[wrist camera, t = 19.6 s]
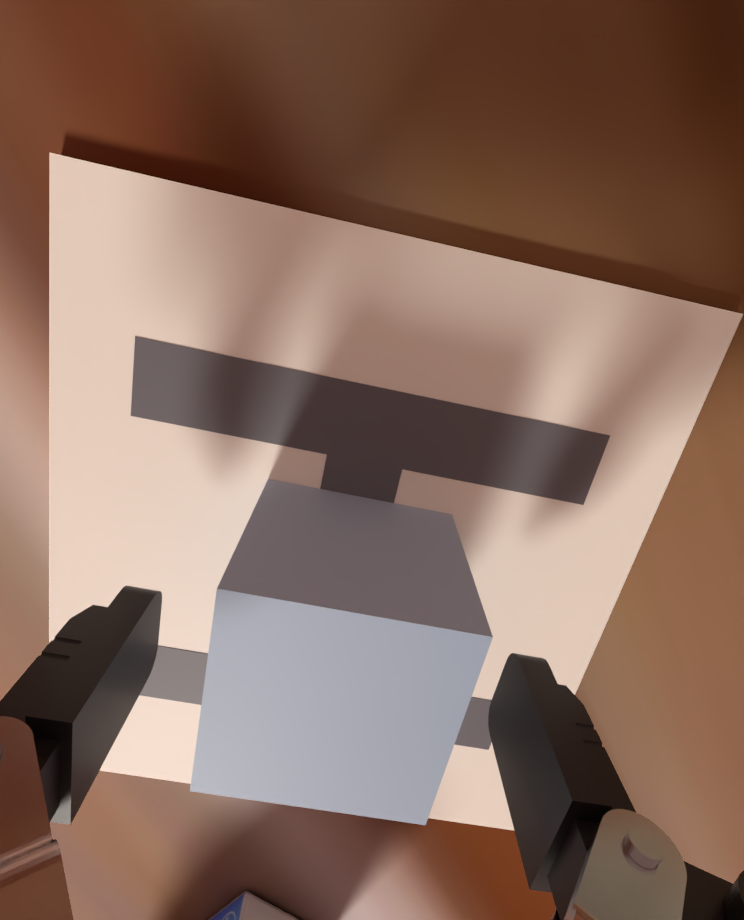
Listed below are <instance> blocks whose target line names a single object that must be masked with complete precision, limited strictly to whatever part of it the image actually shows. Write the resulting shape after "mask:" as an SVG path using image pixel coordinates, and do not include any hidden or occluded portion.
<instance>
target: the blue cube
mask: <svg viewBox="0 0 744 920" xmlns="http://www.w3.org/2000/svg"><path fill="white" fill-rule="evenodd" d="M492 638H493V636H492V633H491V630H490V627H489V624H488V621H487V618H486V615H485V612H484V609H483V606H482V603H481V600H480V597H479V594H478V591H477V588H476V585H475V582H474V579H473V576H472V573H471V570H470V567H469V564H468V561H467V558H466V555H465V552H464V549H463V546H462V543H461V540H460V537H459V534H458V531H457V528H456V525H455V522H454V519H453V516H452V514H447V513H442V512H437V511H432V510H427V509H422V508H416V507H411V506H406V505H401V504H396V503H391V502H385V501H380V500H375V499H370V498H365V497H360V496H354V495H349V494H344V493H339V492H334V491H329V490H323V489H318V488H313V487H308V486H303V485H298V484H293V483H287V482H282V481H277V480H272V479H268V480H267V482H266V484H265V487H264V489H263V491H262V493H261V495H260V497H259V499H258V502H257V504H256V506H255V508H254V510H253V512H252V514H251V517H250V519H249V521H248V523H247V525H246V527H245V529H244V532H243V534H242V536H241V538H240V540H239V542H238V544H237V546H236V549H235V551H234V553H233V555H232V557H231V559H230V561H229V564H228V566H227V568H226V570H225V572H224V574H223V576H222V579H221V581H220V583H219V585H218V587H217V591H216V599H215V606H214V614H213V621H212V629H211V636H210V644H209V651H208V659H207V666H206V674H205V681H204V689H203V696H202V704H201V712H200V719H199V727H198V734H197V742H196V749H195V757H194V764H193V772H192V779H191V787H190V791H193V792H200V793H206V794H213V795H220V796H227V797H234V798H241V799H248V800H255V801H262V802H268V803H275V804H282V805H289V806H296V807H303V808H310V809H317V810H324V811H330V812H337V813H344V814H351V815H358V816H365V817H372V818H379V819H386V820H393V821H399V822H406V823H413V824H420V825H426V822H427V819H428V816H429V814H430V811H431V808H432V805H433V803H434V800H435V797H436V794H437V791H438V789H439V786H440V783H441V780H442V777H443V775H444V772H445V769H446V766H447V764H448V761H449V758H450V755H451V752H452V750H453V747H454V744H455V741H456V738H457V736H458V733H459V730H460V727H461V725H462V722H463V719H464V716H465V713H466V711H467V708H468V705H469V702H470V699H471V697H472V694H473V691H474V688H475V686H476V683H477V680H478V677H479V674H480V672H481V669H482V666H483V663H484V660H485V658H486V655H487V652H488V649H489V647H490V644H491V641H492Z"/></svg>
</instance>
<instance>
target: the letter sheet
mask: <svg viewBox="0 0 744 920" xmlns="http://www.w3.org/2000/svg"><path fill="white" fill-rule="evenodd" d="M742 316H743V314H741V313H737V312H732V311H728V310H724V309H720V308H715V307H711V306H707V305H702V304H698V303H694V302H690V301H685V300H681V299H677V298H672V297H668V296H664V295H659V294H655V293H651V292H647V291H642V290H638V289H634V288H629V287H625V286H621V285H617V284H612V283H608V282H604V281H599V280H595V279H591V278H586V277H582V276H578V275H574V274H569V273H565V272H561V271H556V270H552V269H548V268H543V267H539V266H535V265H531V264H526V263H522V262H518V261H513V260H509V259H505V258H501V257H496V256H492V255H488V254H483V253H479V252H475V251H470V250H466V249H462V248H458V247H453V246H449V245H445V244H440V243H436V242H432V241H428V240H423V239H419V238H415V237H410V236H406V235H402V234H397V233H393V232H389V231H385V230H380V229H376V228H372V227H367V226H363V225H359V224H355V223H350V222H346V221H342V220H337V219H333V218H329V217H324V216H320V215H316V214H312V213H307V212H303V211H299V210H294V209H290V208H286V207H281V206H277V205H273V204H269V203H264V202H260V201H256V200H251V199H247V198H243V197H239V196H234V195H230V194H226V193H221V192H217V191H213V190H208V189H204V188H200V187H196V186H191V185H187V184H183V183H178V182H174V181H170V180H166V179H161V178H157V177H153V176H148V175H144V174H140V173H135V172H131V171H127V170H123V169H118V168H114V167H110V166H105V165H101V164H97V163H92V162H88V161H84V160H80V159H75V158H71V157H67V156H62V155H58V154H54V153H50V210H49V643H50V642H51V641H52V640H54V638H55V636H56V635H57V633H58V632H59V631H60V630H61V629H62V627H63V626H64V625H65V624H66V623H67V622H68V620H69V619H70V618H72V617H73V616H75V615H77V614H78V613H80V612H82V611H83V610H85V609H87V608H88V607H90V606H92V605H98V606H103V607H108V606H109V605H110V604H111V602H112V601H113V600H114V598H115V597H116V596H117V594H118V593H119V592H120V591H121V589H122V588H123V587H124V586H133V587H139V588H144V589H150V590H156V591H161V593H162V606H161V617H160V629H159V640H158V649H157V654H156V659H155V662H154V665H153V668H152V671H151V673H150V676H149V678H148V680H147V682H146V683H145V685H144V687H143V689H142V691H141V693H140V695H139V697H138V699H137V700H136V702H135V704H134V706H133V708H132V710H131V712H130V714H129V715H128V717H127V719H126V721H125V723H124V725H123V727H122V729H121V731H120V732H119V734H118V736H117V738H116V740H115V742H114V744H113V746H112V747H111V749H110V751H109V753H108V755H107V757H106V759H105V761H104V762H103V764H102V766H101V768H100V770H99V771H106V772H113V773H120V774H127V775H134V776H141V777H148V778H155V779H162V780H169V781H176V782H182V783H189V784H191V779H192V772H193V764H194V757H195V749H196V742H197V734H198V727H199V719H200V712H201V704H202V696H203V689H204V681H205V674H206V666H207V659H208V651H209V644H210V636H211V629H212V621H213V614H214V606H215V599H216V591H217V587H218V585H219V583H220V581H221V579H222V576H223V574H224V572H225V570H226V568H227V566H228V564H229V561H230V559H231V557H232V555H233V553H234V551H235V549H236V546H237V544H238V542H239V540H240V538H241V536H242V534H243V532H244V529H245V527H246V525H247V523H248V521H249V519H250V517H251V514H252V512H253V510H254V508H255V506H256V504H257V502H258V499H259V497H260V495H261V493H262V491H263V489H264V487H265V484H266V482H267V480H268V479H272V480H277V481H282V482H287V483H293V484H298V485H303V486H308V487H313V488H318V489H323V490H329V491H334V492H339V493H344V494H349V495H354V496H360V497H365V498H370V499H375V500H380V501H385V502H391V503H396V504H401V505H406V506H411V507H416V508H422V509H427V510H432V511H437V512H442V513H447V514H452V516H453V519H454V522H455V525H456V528H457V531H458V534H459V537H460V540H461V543H462V546H463V549H464V552H465V555H466V558H467V561H468V564H469V567H470V570H471V573H472V576H473V579H474V582H475V585H476V588H477V591H478V594H479V597H480V600H481V603H482V606H483V609H484V612H485V615H486V618H487V621H488V624H489V627H490V630H491V633H492V636H493V638H492V641H491V644H490V647H489V649H488V652H487V655H486V658H485V660H484V663H483V666H482V669H481V672H480V674H479V677H478V680H477V683H476V686H475V688H474V691H473V694H472V697H471V699H470V702H469V705H468V708H467V711H466V713H465V716H464V719H463V722H462V725H461V727H460V730H459V733H458V736H457V738H456V741H455V744H454V747H453V750H452V752H451V755H450V758H449V761H448V764H447V766H446V769H445V772H444V775H443V777H442V780H441V783H440V786H439V789H438V791H437V794H436V797H435V800H434V803H433V805H432V808H431V811H430V814H429V816H428V818H432V819H438V820H445V821H452V822H459V823H466V824H473V825H480V826H487V827H494V828H501V829H508V830H514V827H513V823H512V819H511V815H510V811H509V807H508V803H507V800H506V796H505V792H504V788H503V784H502V780H501V776H500V772H499V768H498V765H497V761H496V757H495V753H494V749H493V745H492V741H491V737H490V733H489V727H488V715H489V707H490V703H491V700H492V698H493V695H494V692H495V690H496V687H497V684H498V682H499V679H500V676H501V674H502V671H503V668H504V666H505V663H506V660H507V658H508V656H509V655H510V654H512V653H516V654H522V655H528V656H533V657H539V658H544V659H546V661H547V662H548V664H549V666H550V668H551V670H552V672H553V675H554V677H555V679H556V681H557V684H560V685H566V686H567V687H568V688H569V689H570V690H571V692H572V693H573V694H574V695H575V693H576V691H577V689H578V686H579V684H580V682H581V680H582V677H583V675H584V673H585V671H586V668H587V666H588V664H589V662H590V659H591V657H592V655H593V653H594V650H595V648H596V646H597V643H598V641H599V639H600V637H601V634H602V632H603V630H604V628H605V625H606V623H607V621H608V619H609V616H610V614H611V612H612V610H613V607H614V605H615V603H616V601H617V598H618V596H619V594H620V591H621V589H622V587H623V585H624V582H625V580H626V578H627V576H628V573H629V571H630V569H631V567H632V564H633V562H634V560H635V558H636V555H637V553H638V551H639V548H640V546H641V544H642V542H643V539H644V537H645V535H646V533H647V530H648V528H649V526H650V524H651V521H652V519H653V517H654V515H655V512H656V510H657V508H658V506H659V503H660V501H661V499H662V496H663V494H664V492H665V490H666V487H667V485H668V483H669V481H670V478H671V476H672V474H673V472H674V469H675V467H676V465H677V463H678V460H679V458H680V456H681V453H682V451H683V449H684V447H685V444H686V442H687V440H688V438H689V435H690V433H691V431H692V429H693V426H694V424H695V422H696V420H697V417H698V415H699V413H700V411H701V408H702V406H703V404H704V401H705V399H706V397H707V395H708V392H709V390H710V388H711V386H712V383H713V381H714V379H715V377H716V374H717V372H718V370H719V368H720V365H721V363H722V361H723V358H724V356H725V354H726V352H727V349H728V347H729V345H730V343H731V340H732V338H733V336H734V334H735V331H736V329H737V327H738V325H739V322H740V320H741V318H742Z"/></svg>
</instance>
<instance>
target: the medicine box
mask: <svg viewBox="0 0 744 920" xmlns="http://www.w3.org/2000/svg"><path fill="white" fill-rule="evenodd" d="M208 920H299V919H297V918H296V917H294V916H292V915H290V914H288V913H286V912H284V911H282V910H281V909H279V908H277V907H275V906H273V905H271V904H269V903H267V902H265V901H263V900H262V899H260V898H258V897H256V896H255V895H253V894H252V893H251V892H249V891H245V892H243V893H242V894H241V895H239V896H238V897H237V898H235V899H234V900H233V901H232V902H230V903H229V904H228V905H227V906H225V907H224V908H223V909H221V910H220V911H219V912H218V913H216V914H215V915H214V916H212V917H211V918H210V919H208Z"/></svg>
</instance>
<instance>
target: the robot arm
mask: <svg viewBox="0 0 744 920" xmlns="http://www.w3.org/2000/svg"><path fill="white" fill-rule="evenodd" d="M161 606H162V593H161V591H156V590H150V589H144V588H139V587H133V586H124V587H123V588H122V589H121V591H120V592H119V593H118V594H117V596H116V597H115V598H114V600H113V601H112V602H111V604H110V605H109V606H108V607H103V606H98V605H92V606H90V607H88V608H87V609H85V610H83V611H82V612H80V613H78V614H77V615H75V616H73V617H72V618H70V619H69V620H68V622H67V623H66V624H65V625H64V626H63V627H62V629H61V630H60V631H59V632H58V633H57V635H56V636H55V638H54V640H52V641H51V642H50V643H49V644H48V645H47V646H46V648H45V649H44V650H43V651H42V654H41V656H38V657H37V658H36V660H35V661H34V662H33V663H32V664H31V665H30V667H29V668H28V669H27V670H26V671H25V673H24V674H23V675H22V676H21V677H20V679H19V680H18V681H17V682H16V683H15V684H14V686H13V687H12V688H11V689H10V690H9V692H8V693H7V694H6V695H5V696H4V698H3V699H2V700H1V701H0V920H73V915H72V910H71V905H70V899H69V894H68V889H67V884H66V879H65V873H64V868H63V863H62V858H61V853H60V849H59V845H58V842H57V840H56V839H55V840H53V839H52V835H51V830H50V824H49V823H50V822H55V823H62V824H70V825H71V823H72V821H73V819H74V817H75V815H76V813H77V811H78V810H79V808H80V806H81V804H82V802H83V800H84V798H85V796H86V794H87V793H88V791H89V789H90V787H91V785H92V783H93V781H94V779H95V778H96V776H97V774H98V772H99V770H100V768H101V766H102V764H103V762H104V761H105V759H106V757H107V755H108V753H109V751H110V749H111V747H112V746H113V744H114V742H115V740H116V738H117V736H118V734H119V732H120V731H121V729H122V727H123V725H124V723H125V721H126V719H127V717H128V715H129V714H130V712H131V710H132V708H133V706H134V704H135V702H136V700H137V699H138V697H139V695H140V693H141V691H142V689H143V687H144V685H145V683H146V682H147V680H148V678H149V676H150V673H151V671H152V668H153V665H154V662H155V659H156V654H157V649H158V640H159V629H160V617H161ZM488 727H489V733H490V737H491V741H492V745H493V749H494V753H495V757H496V761H497V765H498V768H499V772H500V776H501V780H502V784H503V788H504V792H505V796H506V800H507V803H508V807H509V811H510V815H511V819H512V823H513V827H514V831H515V834H516V838H517V842H518V846H519V850H520V854H521V858H522V862H523V865H524V869H525V873H526V877H527V881H528V885H529V889H531V890H538V891H546V892H552V895H553V898H554V901H555V905H556V908H555V910H554V912H553V914H552V916H551V918H550V920H744V871H743V872H742V873H741V874H740V875H739V877H738V878H737V879H736V881H735V882H734V884H732V883H730V882H728V881H725V880H723V879H721V878H719V877H717V876H714V875H712V874H710V873H708V872H706V871H704V870H701V869H699V868H697V867H695V866H693V865H691V864H689V863H687V862H685V861H683V858H682V856H681V854H680V852H679V851H678V849H677V848H676V846H675V844H674V843H673V842H672V841H671V839H670V838H669V837H668V836H667V835H666V834H665V833H664V832H663V831H662V830H661V829H660V828H659V827H658V826H657V825H655V824H654V823H653V822H651V821H650V820H649V819H647V818H645V817H644V816H642V815H640V814H638V813H636V811H635V809H634V807H633V805H632V803H631V801H630V799H629V797H628V795H627V793H626V791H625V789H624V787H623V785H622V783H621V781H620V779H619V777H618V774H617V772H616V770H615V768H614V766H613V764H612V762H611V760H610V758H609V756H608V754H607V752H606V750H605V748H604V747H602V742H601V740H600V738H599V736H598V733H597V731H596V730H594V728H593V727H594V725H593V723H592V721H591V719H590V717H589V715H588V713H587V711H586V709H585V707H584V705H583V704H582V703H581V702H580V700H579V699H578V698H577V697H576V696H575V695H574V694H573V693H572V692H571V690H570V689H569V688H568V687H567V686H566V685H560V684H557V681H556V679H555V677H554V675H553V672H552V670H551V668H550V666H549V664H548V662H547V661H546V659H544V658H539V657H533V656H528V655H522V654H516V653H512V654H510V655H509V656H508V658H507V660H506V663H505V666H504V668H503V671H502V674H501V676H500V679H499V682H498V684H497V687H496V690H495V692H494V695H493V698H492V700H491V703H490V707H489V715H488Z"/></svg>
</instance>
